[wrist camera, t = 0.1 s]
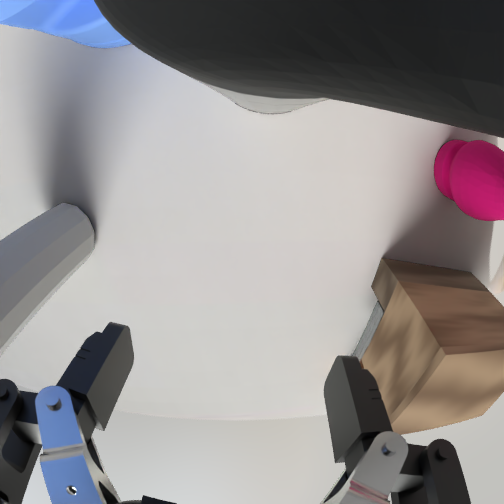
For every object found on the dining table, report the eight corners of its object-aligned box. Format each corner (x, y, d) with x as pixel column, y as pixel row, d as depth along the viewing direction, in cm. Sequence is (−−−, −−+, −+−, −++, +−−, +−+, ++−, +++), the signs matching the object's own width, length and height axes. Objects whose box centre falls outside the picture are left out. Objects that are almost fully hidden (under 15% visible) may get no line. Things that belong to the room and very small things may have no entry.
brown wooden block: (380, 254, 27) (445, 354, 14) (473, 270, 28) (539, 343, 15) (348, 334, 32) (378, 438, 19) (439, 337, 32) (481, 416, 19)
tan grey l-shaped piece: (373, 300, 30) (394, 343, 23) (402, 303, 30) (425, 343, 24) (336, 379, 36) (344, 420, 29) (361, 379, 36) (372, 419, 30)
